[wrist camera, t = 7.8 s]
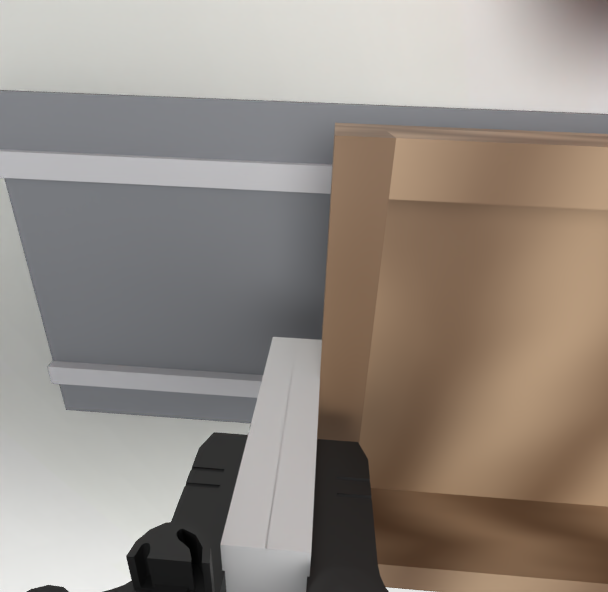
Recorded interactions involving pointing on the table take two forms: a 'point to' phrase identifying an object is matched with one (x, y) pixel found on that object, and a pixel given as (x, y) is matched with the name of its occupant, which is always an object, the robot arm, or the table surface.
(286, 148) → the track
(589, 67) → the table surface
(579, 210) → the tray
